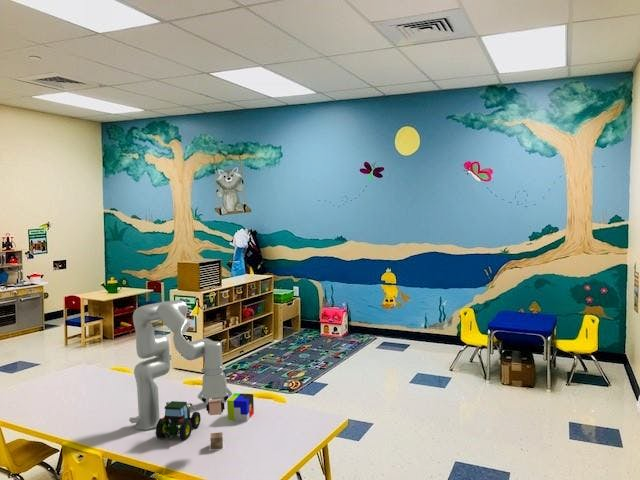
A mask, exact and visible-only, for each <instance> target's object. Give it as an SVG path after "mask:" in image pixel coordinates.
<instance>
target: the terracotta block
mask: <svg viewBox="0 0 640 480" xmlns="http://www.w3.org/2000/svg"><path fill="white" fill-rule="evenodd" d="M222 413H223V412H221V399H213V400H212V399H209V416H218V415H219V416H220V415H222Z"/></svg>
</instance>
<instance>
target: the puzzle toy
mask: <svg viewBox="0 0 640 480" xmlns="http://www.w3.org/2000/svg"><path fill="white" fill-rule="evenodd" d="M226 404H227V407H226V409H227V420H228V421H238V422H248V421H249V420H250V419H251V418H252V416H253V415H254V414H255V410H254V409H255V408H254V407H255V406H254V394H253V393H241V392H239V393H238V392H234V393H232V395H231V396H230V397H229V398H228V399H227V401H226Z"/></svg>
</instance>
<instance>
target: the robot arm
mask: <svg viewBox="0 0 640 480" xmlns="http://www.w3.org/2000/svg"><path fill="white" fill-rule="evenodd" d="M188 311H189V309H188V305H187V304H186V302H185V301H183V300H181V299H175V300H167V301H166V300H164V301H160V302H155V303H151V304H145V305H141V306H139V307H137V308H136V309H135V310H134V312H133V314H132V322H133V326H134V330H135V345H136V346H135V348H136V349H135V350H136V354H137V356H138V358H139V359H142V361H140V362H139V363H137V364H136V365H135V366H134V369H133V375H134V379H135V382H136V391H137V410H138V411H137V413H138V416H136V417H129V422H130V423H131V424H135V428H136V429H137V430H139V431H140V430H141V431H149V430H153V429H154V430H155V429H156V425H157V423H158V421H159V420H160V419H161V417H160V405H159V403H160V402H159V401H160V400H159V387H158V385H157V384H156V382H155V381H154V380H155V379H157V378H160V377H163V376H165V375H167V374H169V372H170V369H171V352H170V351H171V349H170V343H169V340H168V338H167V337H166V335H163V334H155V328H154V327H153V324H152V323H155V322H159V321H162V323H163V324H164V325H165V326H166V327H167V328H168V330H170V331H171V332H172V334H173V338H172V339H173V345H174V348H175V350H176V351H177V353H179V354H180V355H181V357H182V358H184V359H185V360H188V361H194V360H197V359H199V358H202V357H203V358H204V368H201V373H203V376H202V387H201V388H202V389H201V391H200V392H199V394H198V395H197V398H198V399H199V400H200V401H202V402H203V404H205V405H206V406H205V408H206V411H207V414H209V415H210V413H209V400H211V399H212V398H221V412H222V413H224V410H225V408H226V407H225V403H226V402H227V401H226V400H228V399H229V398H230V397H231V396H232V395H233V392H232V391H231V390H230V389H229V387H227V386H226V383H227V377H226V378H225V374H224V372H223V367H224V366H223V347H222V346H223V345H222V343H221V342H220V341H217V340H216V341H215V340H212V339H210V338H206V337H205V338H202V339H197V340H194V341H190V342H189V341H188V340H187V339H186V338H185V337H184V336H183V335H184V334H185V333H186V332H187V331H188V329H189V327H190V321H189V319H188V318H186V316H187V314H188V313H189V312H188ZM143 359H146V360H143ZM226 394H227V395H226Z"/></svg>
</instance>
